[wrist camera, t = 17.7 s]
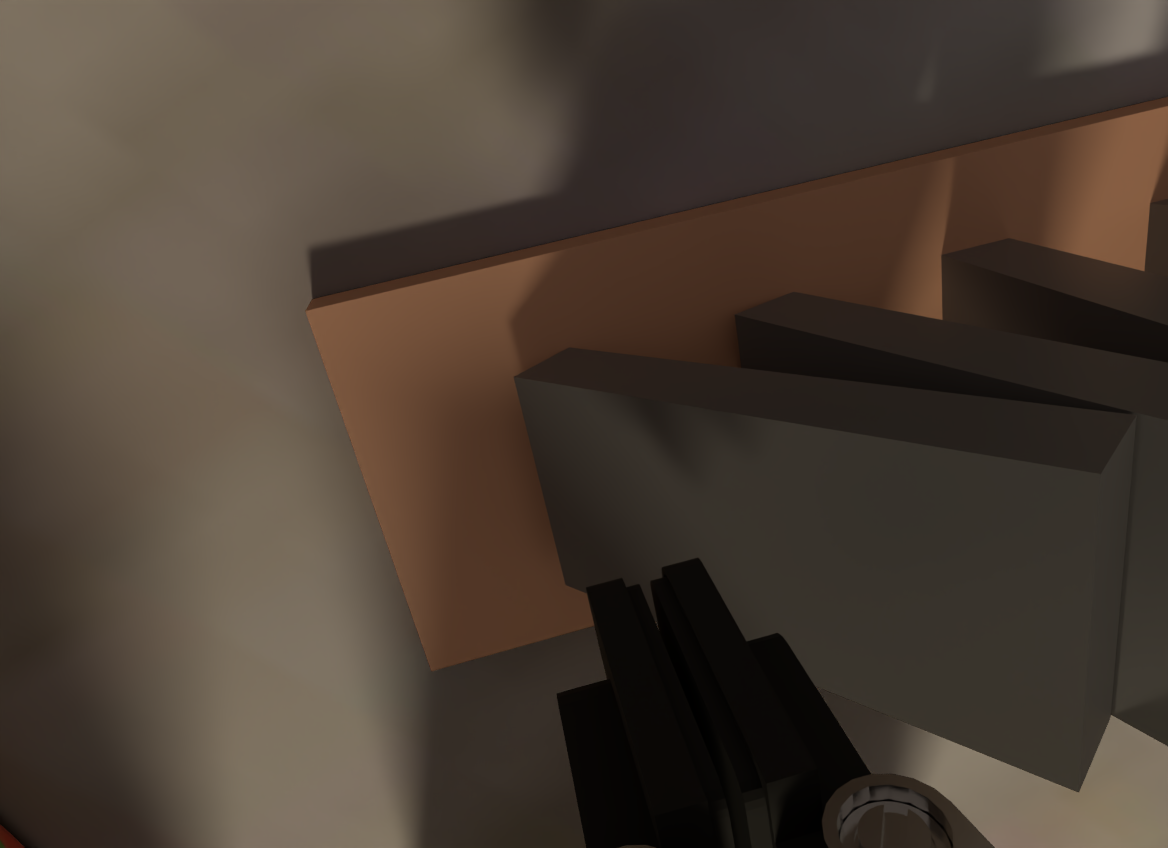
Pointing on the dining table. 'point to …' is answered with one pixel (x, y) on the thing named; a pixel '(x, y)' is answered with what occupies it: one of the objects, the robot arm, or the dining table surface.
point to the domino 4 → (1157, 239)
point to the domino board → (667, 336)
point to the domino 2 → (1057, 297)
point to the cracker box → (8, 839)
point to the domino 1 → (861, 533)
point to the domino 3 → (1022, 373)
